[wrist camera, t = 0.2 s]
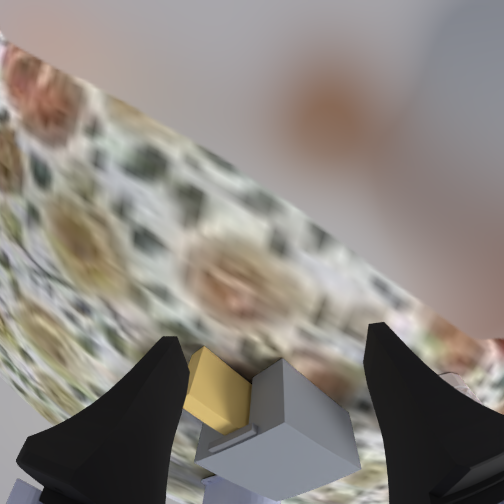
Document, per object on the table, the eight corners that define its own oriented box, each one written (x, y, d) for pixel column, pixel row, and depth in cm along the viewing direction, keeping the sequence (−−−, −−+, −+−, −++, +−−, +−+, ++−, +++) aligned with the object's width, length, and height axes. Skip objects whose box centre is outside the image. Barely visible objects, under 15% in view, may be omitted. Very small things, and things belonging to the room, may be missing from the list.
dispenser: (277, 449, 28) (277, 501, 21) (202, 401, 26) (188, 459, 19) (348, 413, 25) (361, 469, 19) (277, 353, 23) (278, 418, 17)
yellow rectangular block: (273, 416, 26) (273, 463, 20) (192, 354, 24) (175, 402, 18) (286, 410, 25) (287, 457, 20) (204, 345, 23) (188, 394, 18)
